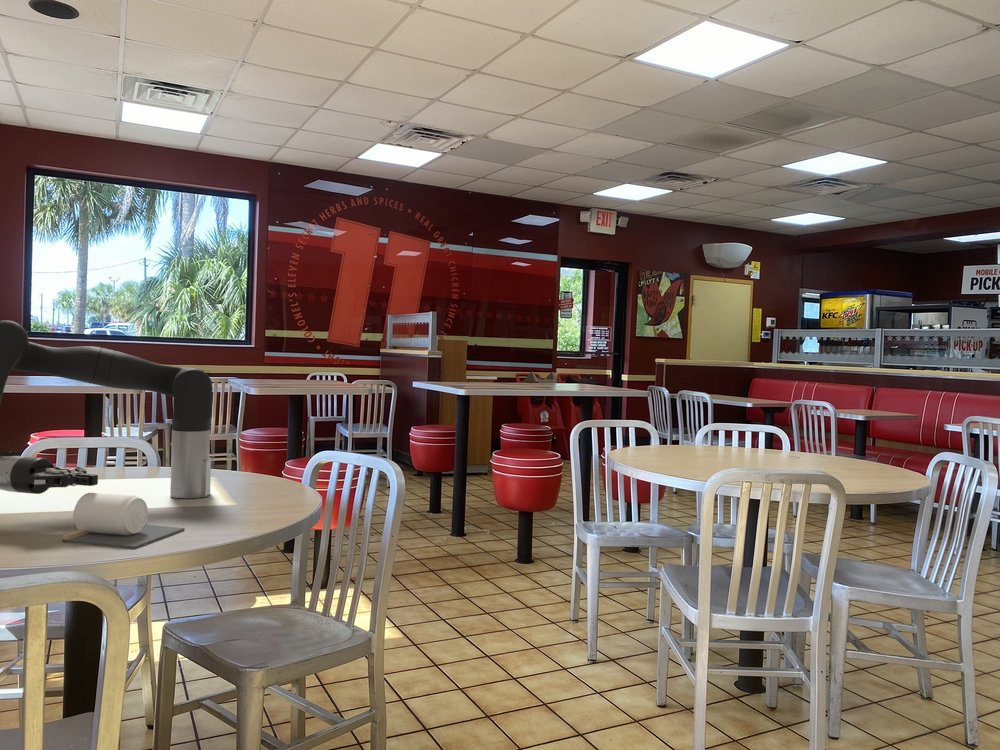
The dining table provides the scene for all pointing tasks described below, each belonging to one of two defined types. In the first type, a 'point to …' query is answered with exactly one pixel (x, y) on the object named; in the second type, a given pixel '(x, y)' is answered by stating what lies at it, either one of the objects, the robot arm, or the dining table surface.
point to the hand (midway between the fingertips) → (95, 480)
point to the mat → (123, 537)
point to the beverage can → (110, 513)
